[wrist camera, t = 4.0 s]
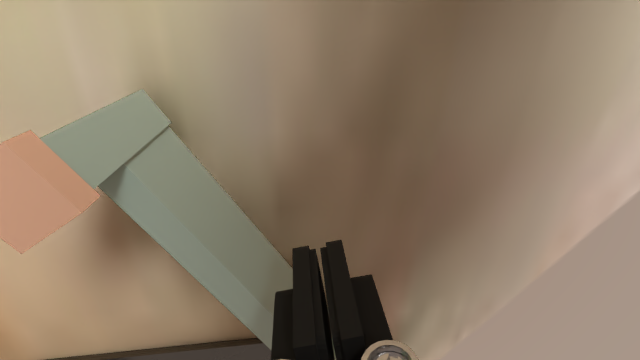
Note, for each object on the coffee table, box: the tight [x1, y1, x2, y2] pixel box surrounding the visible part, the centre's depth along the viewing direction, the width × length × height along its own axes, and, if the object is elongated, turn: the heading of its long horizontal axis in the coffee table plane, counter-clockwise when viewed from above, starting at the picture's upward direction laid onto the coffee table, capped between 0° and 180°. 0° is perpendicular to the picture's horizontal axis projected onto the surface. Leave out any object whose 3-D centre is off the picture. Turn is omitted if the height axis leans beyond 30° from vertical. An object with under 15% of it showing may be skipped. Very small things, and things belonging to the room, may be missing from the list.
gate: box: [0, 89, 336, 360], centre depth 13 cm, size 16×2×7 cm, turn 32°
